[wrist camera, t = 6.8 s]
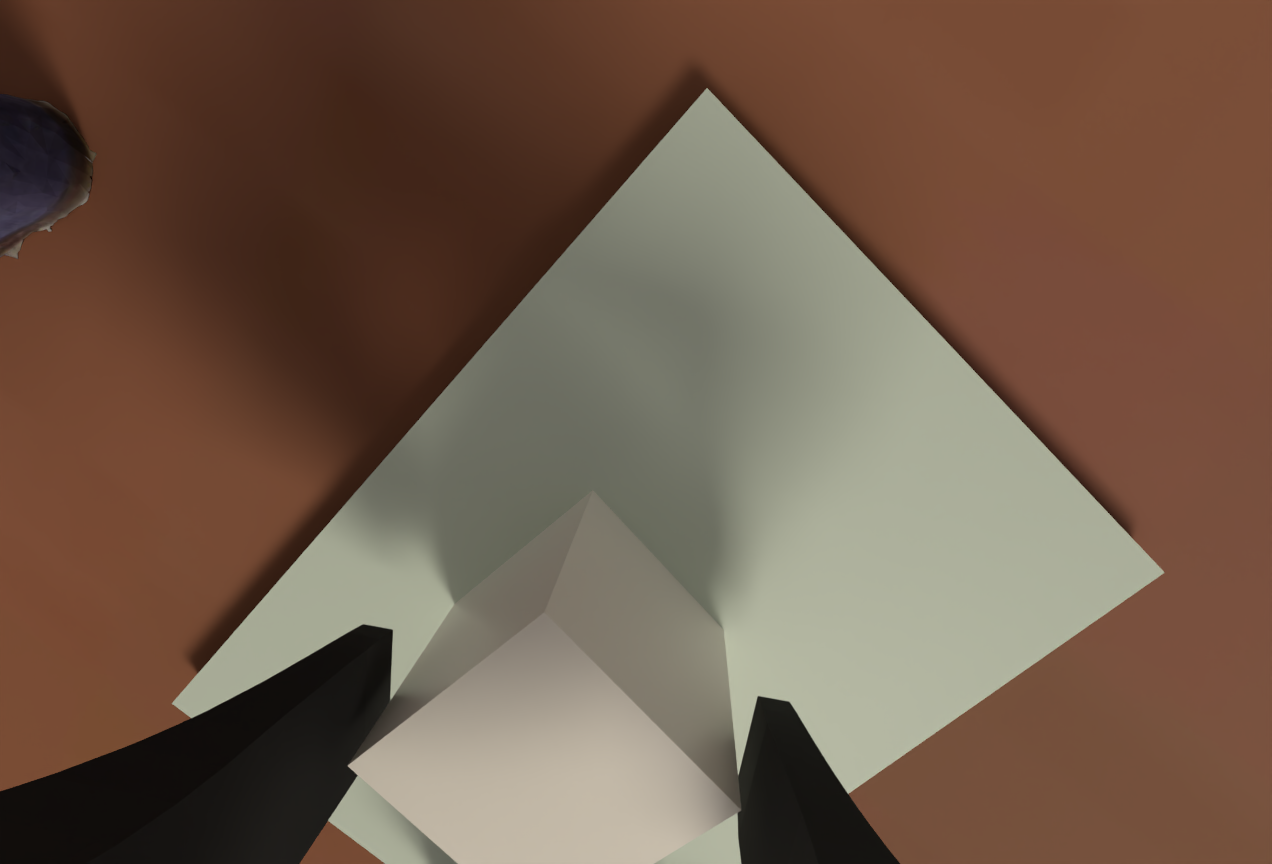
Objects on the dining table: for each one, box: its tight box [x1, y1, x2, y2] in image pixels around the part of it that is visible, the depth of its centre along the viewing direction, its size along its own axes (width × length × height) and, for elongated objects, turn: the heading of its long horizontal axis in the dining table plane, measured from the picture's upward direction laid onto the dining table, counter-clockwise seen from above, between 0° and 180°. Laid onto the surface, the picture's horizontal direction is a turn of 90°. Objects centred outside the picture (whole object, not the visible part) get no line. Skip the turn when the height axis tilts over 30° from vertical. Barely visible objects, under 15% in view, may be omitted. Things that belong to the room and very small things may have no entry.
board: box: [172, 88, 1164, 864], centre depth 14 cm, size 20×14×4 cm
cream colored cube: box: [348, 490, 741, 864], centre depth 13 cm, size 5×5×5 cm
